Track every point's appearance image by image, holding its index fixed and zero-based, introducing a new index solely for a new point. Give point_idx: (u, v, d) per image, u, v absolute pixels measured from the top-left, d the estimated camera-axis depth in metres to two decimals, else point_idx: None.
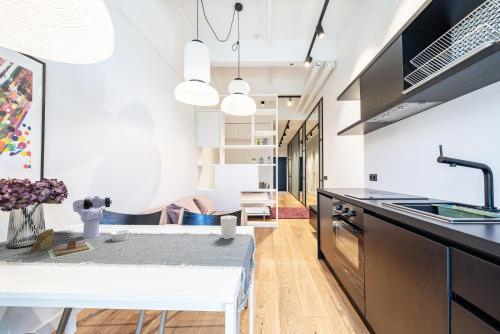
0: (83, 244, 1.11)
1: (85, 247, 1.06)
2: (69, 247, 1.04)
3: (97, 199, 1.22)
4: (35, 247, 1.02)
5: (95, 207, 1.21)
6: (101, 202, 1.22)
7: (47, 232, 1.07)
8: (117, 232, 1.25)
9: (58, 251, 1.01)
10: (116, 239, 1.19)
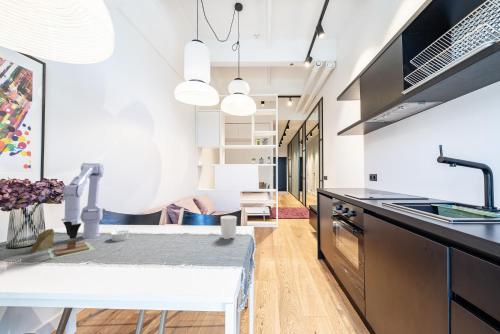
0: (83, 244, 1.11)
1: (85, 247, 1.06)
2: (69, 247, 1.04)
3: None
4: (35, 247, 1.02)
5: None
6: None
7: (47, 232, 1.07)
8: (117, 232, 1.25)
9: (58, 251, 1.01)
10: (116, 239, 1.19)
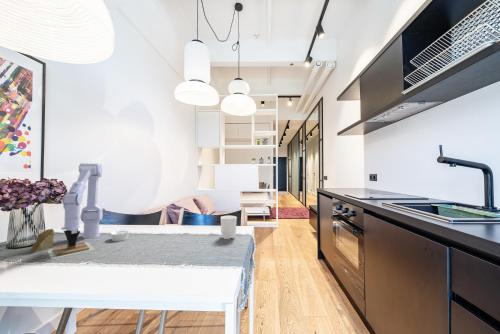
0: (83, 244, 1.11)
1: (85, 247, 1.06)
2: (69, 247, 1.04)
3: None
4: (35, 247, 1.02)
5: None
6: None
7: (47, 232, 1.07)
8: (117, 232, 1.25)
9: (58, 251, 1.01)
10: (116, 239, 1.19)
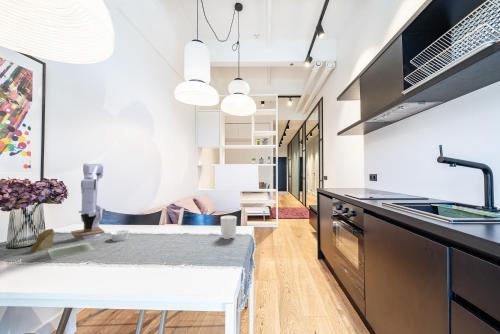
0: (98, 228, 1.16)
1: (100, 231, 1.12)
2: (86, 230, 1.09)
3: None
4: (35, 247, 1.02)
5: None
6: (88, 214, 1.10)
7: (47, 232, 1.07)
8: (117, 232, 1.25)
9: (75, 233, 1.06)
10: (116, 239, 1.19)
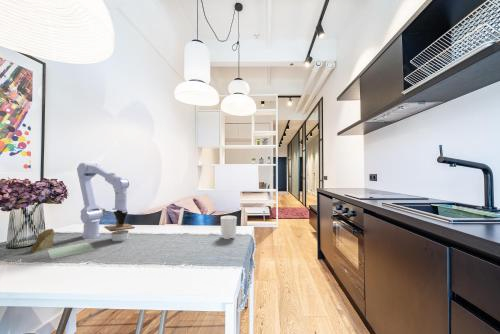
0: (128, 224, 1.28)
1: (131, 226, 1.24)
2: (118, 225, 1.21)
3: None
4: (35, 247, 1.02)
5: None
6: None
7: (47, 232, 1.07)
8: (117, 232, 1.25)
9: (110, 228, 1.18)
10: (116, 239, 1.19)
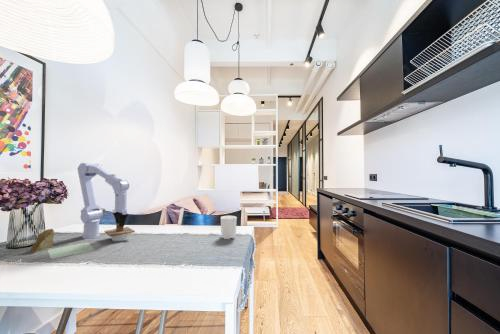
0: (128, 228, 1.28)
1: (131, 230, 1.24)
2: (118, 230, 1.21)
3: None
4: (35, 247, 1.02)
5: None
6: (121, 213, 1.22)
7: (47, 232, 1.07)
8: None
9: (110, 233, 1.18)
10: (116, 239, 1.19)
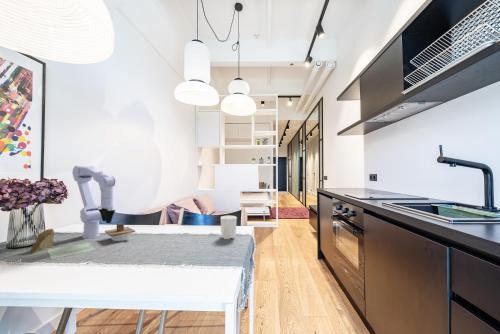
0: (128, 228, 1.28)
1: (131, 230, 1.24)
2: (119, 230, 1.22)
3: None
4: (35, 247, 1.02)
5: None
6: (107, 209, 1.20)
7: (47, 232, 1.07)
8: None
9: (110, 233, 1.18)
10: (116, 239, 1.19)
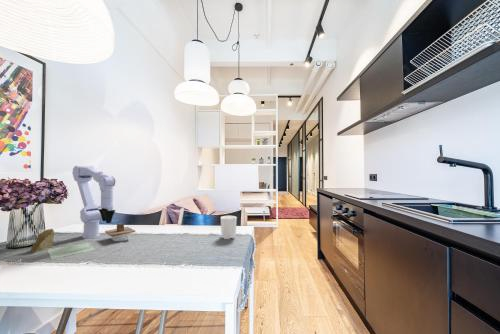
0: (128, 228, 1.29)
1: (132, 230, 1.24)
2: (119, 230, 1.22)
3: None
4: (35, 247, 1.02)
5: None
6: (107, 209, 1.20)
7: (47, 232, 1.07)
8: None
9: (110, 233, 1.18)
10: (117, 239, 1.19)
